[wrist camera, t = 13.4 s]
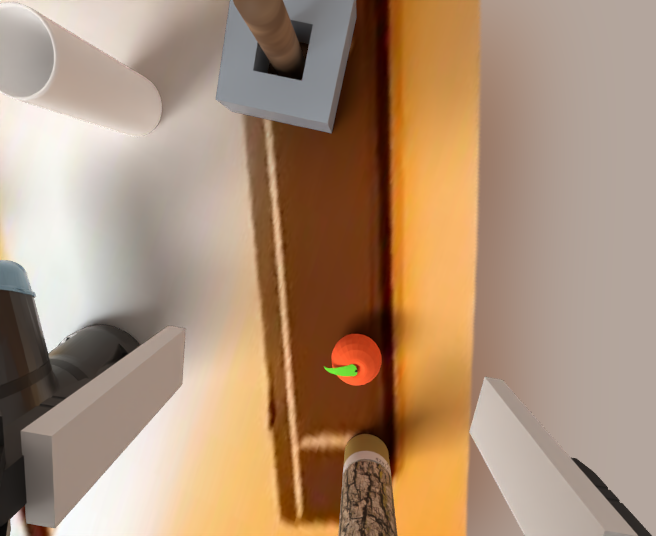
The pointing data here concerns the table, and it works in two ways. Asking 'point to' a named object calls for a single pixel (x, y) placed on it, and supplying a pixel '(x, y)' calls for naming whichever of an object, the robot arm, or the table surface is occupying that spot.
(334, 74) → the socket
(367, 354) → the clementine
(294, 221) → the table surface
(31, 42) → the cup
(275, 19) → the dowel
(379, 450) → the paper tube
